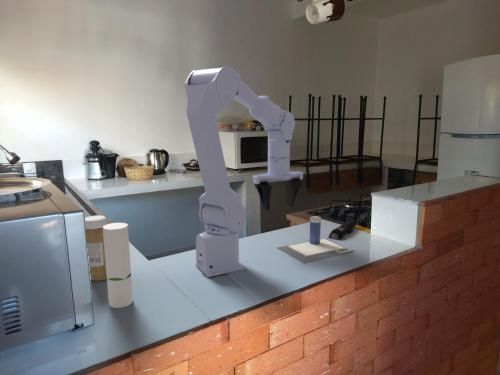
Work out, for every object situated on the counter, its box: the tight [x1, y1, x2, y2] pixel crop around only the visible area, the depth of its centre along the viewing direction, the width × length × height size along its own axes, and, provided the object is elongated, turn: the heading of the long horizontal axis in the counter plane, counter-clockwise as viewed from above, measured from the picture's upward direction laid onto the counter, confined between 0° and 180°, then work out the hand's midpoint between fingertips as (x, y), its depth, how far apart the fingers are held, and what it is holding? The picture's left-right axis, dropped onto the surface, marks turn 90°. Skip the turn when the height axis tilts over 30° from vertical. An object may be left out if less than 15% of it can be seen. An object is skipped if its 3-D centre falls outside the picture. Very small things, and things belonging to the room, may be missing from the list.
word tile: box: [334, 246, 353, 254], centre depth 98 cm, size 4×2×1 cm, turn 118°
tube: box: [103, 222, 134, 309], centre depth 71 cm, size 4×4×15 cm
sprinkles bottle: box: [84, 214, 107, 282], centre depth 82 cm, size 5×5×14 cm
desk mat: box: [276, 238, 356, 264], centre depth 99 cm, size 16×12×1 cm
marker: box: [309, 215, 322, 245], centre depth 102 cm, size 3×3×7 cm
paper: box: [287, 238, 345, 257], centre depth 100 cm, size 12×8×1 cm, turn 119°
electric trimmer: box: [327, 218, 357, 241], centre depth 113 cm, size 4×16×3 cm, turn 146°
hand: (278, 207), depth 103 cm, fingers open, 7 cm apart
